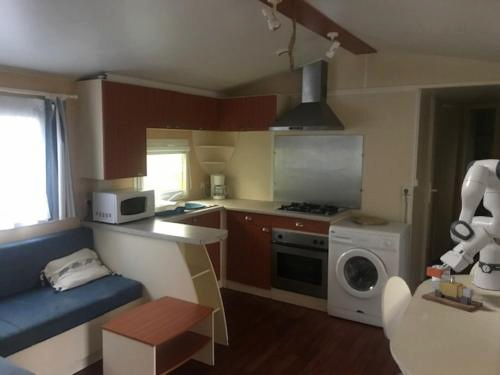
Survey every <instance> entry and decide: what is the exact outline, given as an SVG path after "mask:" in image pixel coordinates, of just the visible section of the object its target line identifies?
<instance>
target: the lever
mask: <svg viewBox="0 0 500 375" xmlns="http://www.w3.org/2000/svg"><path fill="white" fill-rule="evenodd" d="M426 276H429V277H431V278H432V277H436V278H446V279H449V280H451V282H453V283H454V282H456V280H455V279H456V276H454V275H451V274H450V275H446V274H443V269H438V268H433V267H432V266H428V267H426Z"/></svg>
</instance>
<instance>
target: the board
mask: <svg viewBox="0 0 500 375" xmlns="http://www.w3.org/2000/svg"><path fill="white" fill-rule="evenodd" d="M421 299H423V300H426V301H429V302H433V303H437V304H440V305H443V306H448V307H451V308H454V309H458V310H461V311H465V312H467V313H471V312H473V311H475V310H477V309H479V308H481V307H483V306H484V303H483V302H481V301H476V300H472V299H471V304H469V305H464V304H461V303H460V300H461V297H457V298H455V297H452V296H448V295H445V297H442V298H439V297H435V290H434V291H432V292H428V293H426V294H422V295H421Z"/></svg>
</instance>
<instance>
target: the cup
mask: <svg viewBox="0 0 500 375" xmlns="http://www.w3.org/2000/svg"><path fill="white" fill-rule="evenodd" d="M442 266H443V265H440V264H435V265H432V266H431V267H433V268H438V269H440V268H442ZM443 274H446V275H451V269H450V270H448V271H446V272H445V273H443ZM431 279H432V282H433V281H435V280H438V281H447V280H450V279H446V278H436V277H432V276H431Z"/></svg>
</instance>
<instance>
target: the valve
mask: <svg viewBox="0 0 500 375" xmlns="http://www.w3.org/2000/svg"><path fill="white" fill-rule="evenodd" d="M432 289H434V291H435V297H439V298H442V297H445V295H448V296H452V297H455V298H457V297H461V300H460V303H461V304H464V305H469V304H471V300H472V298H473V297H474V288H470V287H467V285H464V283H462V282H459V281H455V282H454V283H453V282H451V280H450V279H449V280H447V281H438V280H435V281H433V280H432Z"/></svg>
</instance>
